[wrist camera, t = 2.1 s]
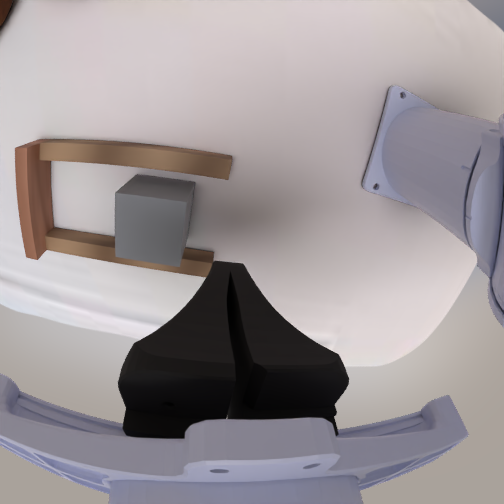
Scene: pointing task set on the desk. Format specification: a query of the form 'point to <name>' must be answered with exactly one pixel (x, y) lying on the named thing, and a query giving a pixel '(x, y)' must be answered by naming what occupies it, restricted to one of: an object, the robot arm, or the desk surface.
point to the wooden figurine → (4, 9)
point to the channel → (102, 152)
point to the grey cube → (153, 219)
